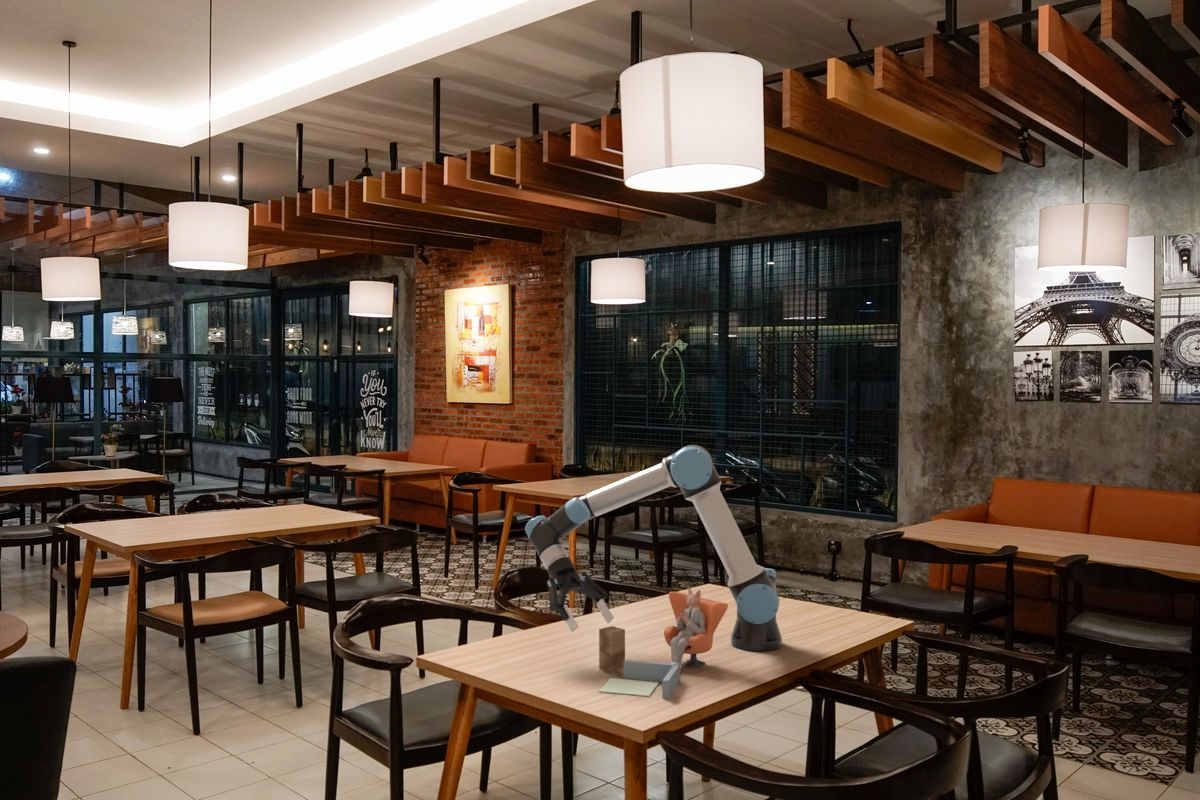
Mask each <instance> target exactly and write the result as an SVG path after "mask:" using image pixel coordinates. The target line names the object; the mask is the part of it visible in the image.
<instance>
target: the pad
mask: <svg viewBox="0 0 1200 800" xmlns="http://www.w3.org/2000/svg"><path fill="white" fill-rule="evenodd" d="M659 682H660V681H649V680H638V679H627V678H615V677H610V678H609V679H608V680H607V681H606V683H605V684H604V685H602V687H601V688H600V689H599V691H598V692H599V693H603V694H605V693H606V694H614V695H615V694H616V695H624V696H625V695H626V696H636V697H637V696H638V697H647V698H648V697H650V696H651V695H652V693H653V692H654V691H655V689H656V688H657V686H658V685H659Z"/></svg>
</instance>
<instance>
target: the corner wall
mask: <svg viewBox="0 0 1200 800" xmlns="http://www.w3.org/2000/svg"><path fill="white" fill-rule="evenodd" d="M670 663H671V662H670ZM670 663H667V662H656V661H645V660H644V661H643V660H632V659H631V660H630V659H625V660H624V661H623V678H622V679H627V680H638V681H650V682H661V683H662V690H661V691H662V699H664V700H665V699H666V700H669V699H670V698H671V696H672V694H673V693H674V691H675V690H676V689H677V687H678V685H679V684H680V683H681V669H680V664H670Z"/></svg>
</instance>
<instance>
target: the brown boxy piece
mask: <svg viewBox="0 0 1200 800" xmlns="http://www.w3.org/2000/svg"><path fill="white" fill-rule="evenodd" d="M598 644H599V645H598V646H599V647H598V649H599V651H598V652H599V653H598V657H599V658H598V662H599V663H598V664H599V665H598V666H599V667H598V670H601V671H604V672H606V673H610V674H613V675H616V676H620V677H623V661H624V660H626V629H624V628H621V627H617V626H613V625H610V626H606V627H602V628H599V629H598Z"/></svg>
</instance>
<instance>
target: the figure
mask: <svg viewBox="0 0 1200 800" xmlns="http://www.w3.org/2000/svg"><path fill="white" fill-rule="evenodd" d="M687 589H688V593H684V592H679V591H670V592H669V593H668V600H669V603H670V606H671V608H672V611H673V615H674V617H675V621H676V625H675V626H674V625H671V626H667V627H666V628H665V629H664V630H663V636H664V637H663V638H664V639H665V642H666V644H667V645H668V647H670V654H671V656H670V657H671V658H670V659H671V660H670V661H671V662H670V664H680V670H681V669H682V667H689V666H693V668H694V669H700V668H701V666H702V665H703V666H704V665H706V662H705V661H703V660H700V659H698V658H697V655H698V654H703V653H707V652H710V651H711V649H712V648H713V639H714V634H715V632H716V630H717V629H718V626H719V624H720V622H721V621H722V619H723V617H724V616H725V614H726V612H727V610H728V605H729V604H728V603H727V602H721V601H716V600H712V599H707V598H705V597H702V593H701V589H699V590H696V592H695V594H694V593H693V591H692V589H691V587H688V588H687ZM684 654H685V655H690V658H689V659H687V660H686V661H684V662H682V660H683V657H684Z"/></svg>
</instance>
